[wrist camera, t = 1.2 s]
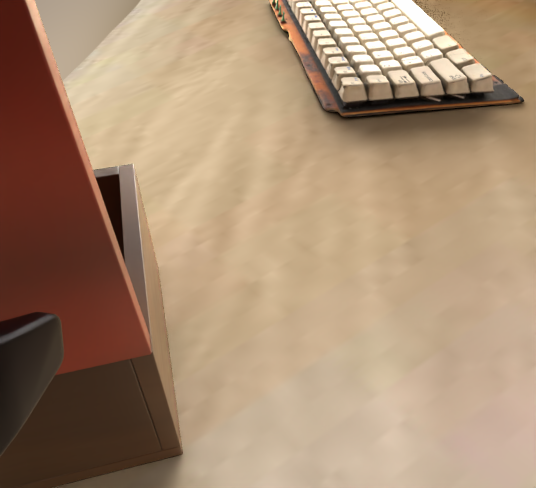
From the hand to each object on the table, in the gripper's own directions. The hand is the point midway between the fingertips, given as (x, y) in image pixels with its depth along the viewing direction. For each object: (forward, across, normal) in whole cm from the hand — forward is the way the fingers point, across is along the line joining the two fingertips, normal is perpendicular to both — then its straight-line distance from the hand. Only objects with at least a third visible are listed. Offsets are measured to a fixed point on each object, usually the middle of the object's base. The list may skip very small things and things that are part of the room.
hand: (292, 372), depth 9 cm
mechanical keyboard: (+59, 0, -8) cm, 59 cm away
